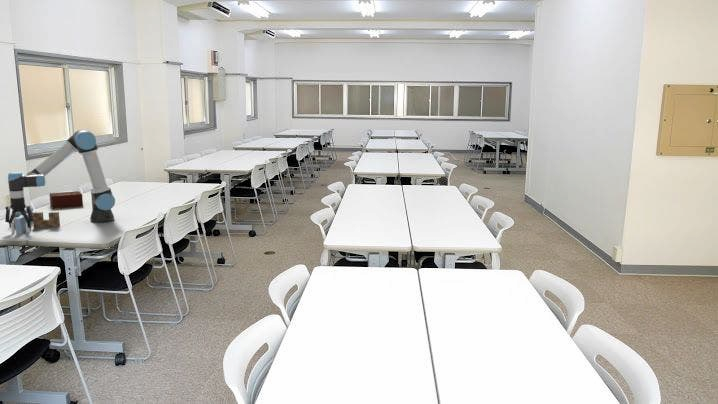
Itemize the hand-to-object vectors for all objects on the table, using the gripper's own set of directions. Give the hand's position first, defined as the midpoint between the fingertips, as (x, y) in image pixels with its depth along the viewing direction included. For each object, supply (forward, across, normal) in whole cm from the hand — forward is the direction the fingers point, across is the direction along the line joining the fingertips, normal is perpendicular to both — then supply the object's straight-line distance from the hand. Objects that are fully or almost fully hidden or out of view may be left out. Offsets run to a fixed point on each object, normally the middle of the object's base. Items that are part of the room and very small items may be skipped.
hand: (20, 232), depth 331 cm
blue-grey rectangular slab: (0, 0, -4) cm, 5 cm away
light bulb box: (+1, +8, -24) cm, 26 cm away
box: (+1, +3, -86) cm, 86 cm away
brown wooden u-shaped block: (0, -10, -15) cm, 18 cm away
